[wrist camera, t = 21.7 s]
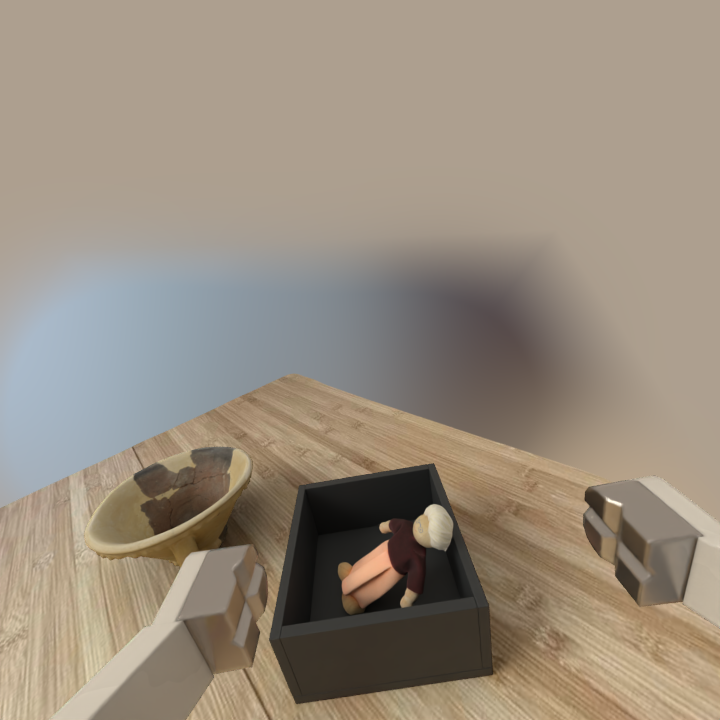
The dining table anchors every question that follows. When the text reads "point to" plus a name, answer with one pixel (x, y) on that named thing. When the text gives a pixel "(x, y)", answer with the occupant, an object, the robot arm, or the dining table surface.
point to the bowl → (171, 506)
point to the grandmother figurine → (396, 560)
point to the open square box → (384, 616)
